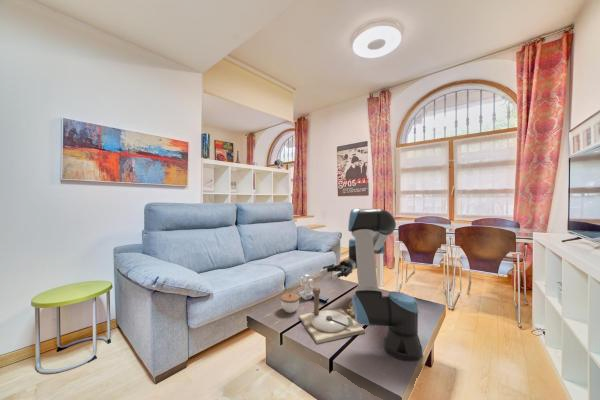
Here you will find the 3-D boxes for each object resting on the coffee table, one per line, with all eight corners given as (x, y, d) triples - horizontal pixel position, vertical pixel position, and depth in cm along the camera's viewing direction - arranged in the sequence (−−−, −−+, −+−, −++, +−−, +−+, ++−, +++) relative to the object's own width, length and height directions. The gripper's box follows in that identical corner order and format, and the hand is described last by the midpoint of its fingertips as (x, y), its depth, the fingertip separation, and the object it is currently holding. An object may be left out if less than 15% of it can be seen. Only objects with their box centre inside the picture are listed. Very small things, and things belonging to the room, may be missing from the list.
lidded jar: (292, 316, 131) (292, 299, 131) (277, 311, 137) (277, 295, 136) (302, 308, 140) (302, 292, 140) (287, 304, 146) (287, 289, 145)
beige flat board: (364, 332, 115) (364, 329, 115) (317, 343, 107) (317, 339, 107) (340, 310, 138) (340, 307, 138) (299, 317, 129) (299, 314, 129)
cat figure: (354, 322, 127) (392, 310, 136) (353, 306, 127) (391, 295, 136) (344, 314, 136) (380, 303, 146) (343, 299, 136) (379, 289, 145)
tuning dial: (357, 321, 122) (357, 292, 122) (337, 338, 108) (338, 306, 108) (323, 308, 136) (323, 283, 136) (302, 322, 121) (302, 293, 121)
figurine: (316, 298, 154) (316, 275, 154) (304, 301, 149) (304, 277, 149) (309, 294, 160) (309, 272, 160) (297, 297, 155) (297, 274, 155)
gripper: (362, 275, 143) (343, 286, 126) (332, 268, 157) (311, 277, 140) (362, 263, 143) (343, 272, 126) (332, 257, 157) (311, 264, 139)
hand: (326, 275), depth 133 cm, fingers open, 8 cm apart
